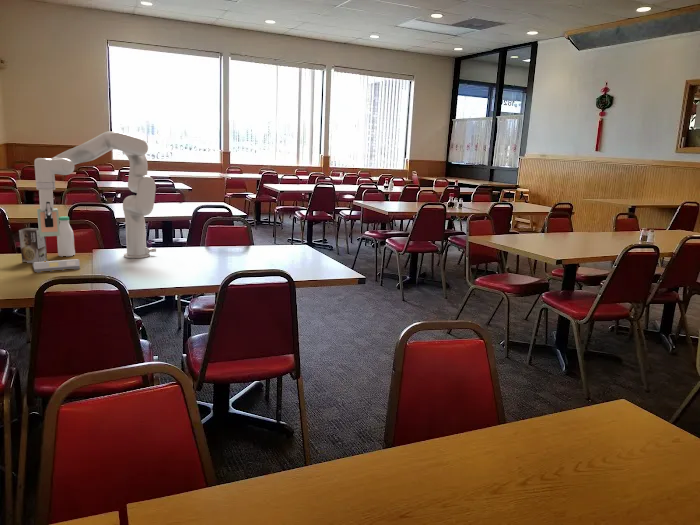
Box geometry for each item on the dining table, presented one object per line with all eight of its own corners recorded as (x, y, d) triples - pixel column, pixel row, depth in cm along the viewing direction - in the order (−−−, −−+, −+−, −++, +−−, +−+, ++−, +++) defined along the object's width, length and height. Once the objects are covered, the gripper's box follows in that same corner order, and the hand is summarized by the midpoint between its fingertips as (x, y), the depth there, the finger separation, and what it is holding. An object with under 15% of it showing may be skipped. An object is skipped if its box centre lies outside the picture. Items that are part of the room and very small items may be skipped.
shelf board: (75, 262, 263) (74, 253, 262) (79, 269, 251) (79, 259, 250) (32, 266, 253) (31, 256, 252) (35, 272, 241) (34, 262, 240)
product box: (39, 235, 248) (37, 208, 246) (58, 234, 253) (56, 208, 250) (39, 236, 244) (37, 210, 242) (60, 235, 248) (58, 209, 246)
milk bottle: (74, 256, 277) (71, 217, 273) (57, 257, 274) (54, 217, 270) (75, 253, 284) (73, 215, 280) (59, 254, 281) (56, 216, 277)
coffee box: (48, 261, 265) (45, 228, 262) (39, 263, 259) (36, 230, 255) (30, 260, 266) (27, 227, 262) (21, 262, 259) (18, 229, 256)
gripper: (34, 184, 249) (37, 224, 252) (37, 187, 235) (40, 229, 238) (53, 184, 253) (56, 223, 257) (57, 187, 239) (60, 228, 243)
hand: (48, 225), depth 247 cm, fingers closed on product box, 5 cm apart
